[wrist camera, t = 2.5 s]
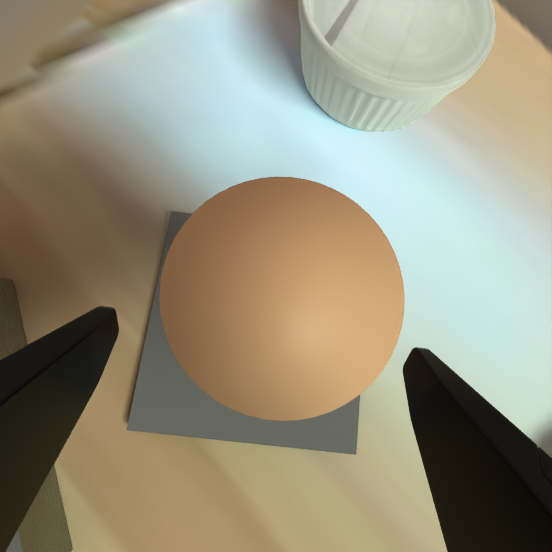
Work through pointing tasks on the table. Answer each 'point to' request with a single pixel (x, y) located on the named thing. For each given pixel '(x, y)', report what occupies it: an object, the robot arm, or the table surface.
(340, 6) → the ramekin
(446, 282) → the table surface
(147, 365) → the mat
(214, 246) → the peg
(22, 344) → the flange plate
